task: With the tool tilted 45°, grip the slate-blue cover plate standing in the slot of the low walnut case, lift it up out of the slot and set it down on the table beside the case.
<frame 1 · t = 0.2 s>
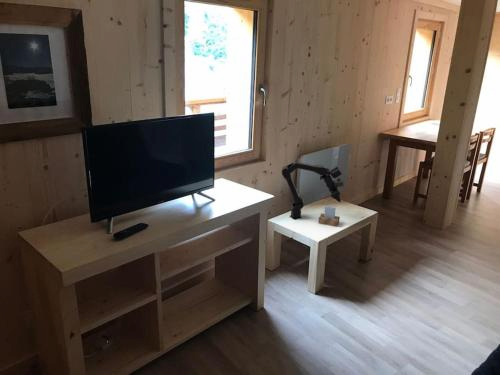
hand: (339, 199, 290), 15 cm above the table, tool tilted 35°, fingers open, 9 cm apart
cover plate: (329, 220, 287), point 2 cm above the table, touching slotted case
slotted case: (328, 222, 288), on the table
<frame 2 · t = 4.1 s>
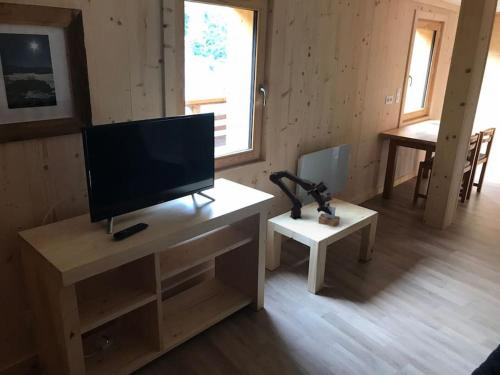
hand: (331, 214, 285), 7 cm above the table, tool tilted 45°, fingers closed on cover plate, 2 cm apart
cover plate: (329, 220, 287), point 2 cm above the table, touching gripper, slotted case
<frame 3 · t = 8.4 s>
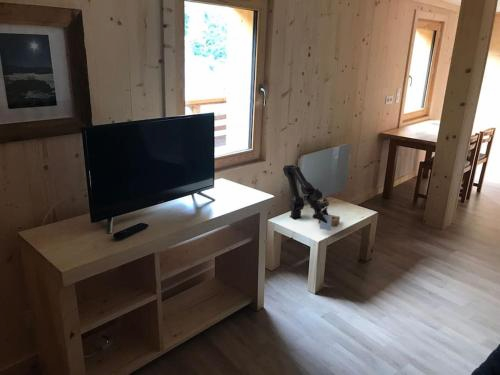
hand: (328, 220, 276), 7 cm above the table, tool tilted 45°, fingers open, 7 cm apart
cover plate: (325, 229, 278), on the table
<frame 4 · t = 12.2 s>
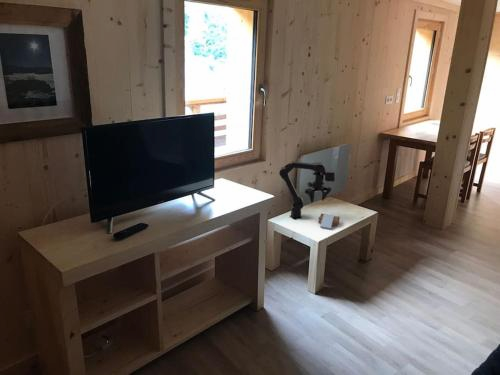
hand: (317, 201, 290), 13 cm above the table, tool pointing down, fingers open, 9 cm apart
cover plate: (325, 227, 278), point 1 cm above the table, tilted 53°, touching slotted case
at the end: cover plate inside the target area (0.2 cm from its centre), point 0.8 cm above the table; cover plate touching slotted case, table; the gripper is holding nothing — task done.
